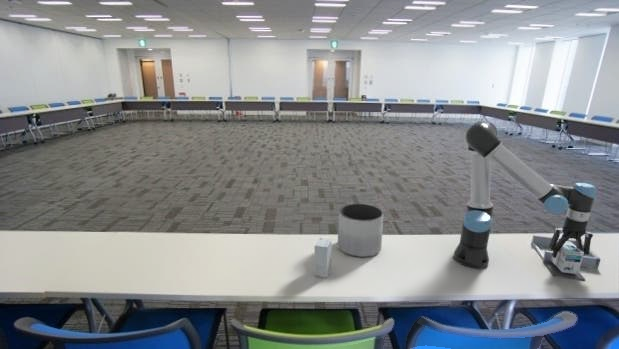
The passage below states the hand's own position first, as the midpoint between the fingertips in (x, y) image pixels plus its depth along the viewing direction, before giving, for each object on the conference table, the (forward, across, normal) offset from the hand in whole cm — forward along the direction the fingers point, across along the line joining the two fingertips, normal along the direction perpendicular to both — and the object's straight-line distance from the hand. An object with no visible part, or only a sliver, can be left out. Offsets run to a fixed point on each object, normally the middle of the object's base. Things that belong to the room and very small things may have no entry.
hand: (564, 264), depth 148 cm
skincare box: (+3, -104, -35) cm, 110 cm away
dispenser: (+3, +5, +16) cm, 17 cm away
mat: (+3, 0, 0) cm, 3 cm away
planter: (+3, -92, -8) cm, 92 cm away
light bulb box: (+1, 0, 0) cm, 1 cm away
